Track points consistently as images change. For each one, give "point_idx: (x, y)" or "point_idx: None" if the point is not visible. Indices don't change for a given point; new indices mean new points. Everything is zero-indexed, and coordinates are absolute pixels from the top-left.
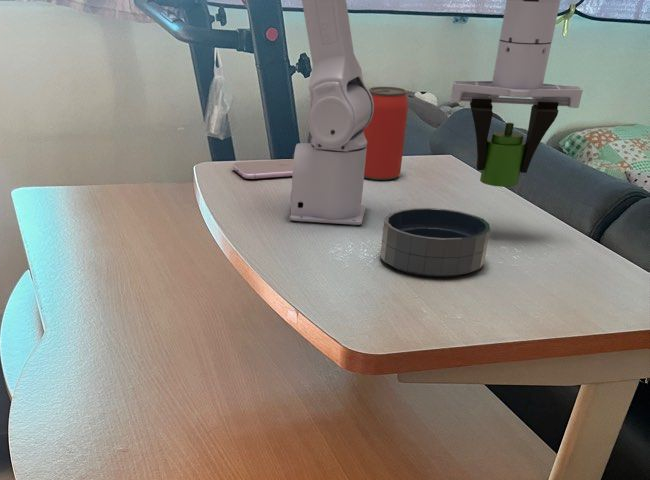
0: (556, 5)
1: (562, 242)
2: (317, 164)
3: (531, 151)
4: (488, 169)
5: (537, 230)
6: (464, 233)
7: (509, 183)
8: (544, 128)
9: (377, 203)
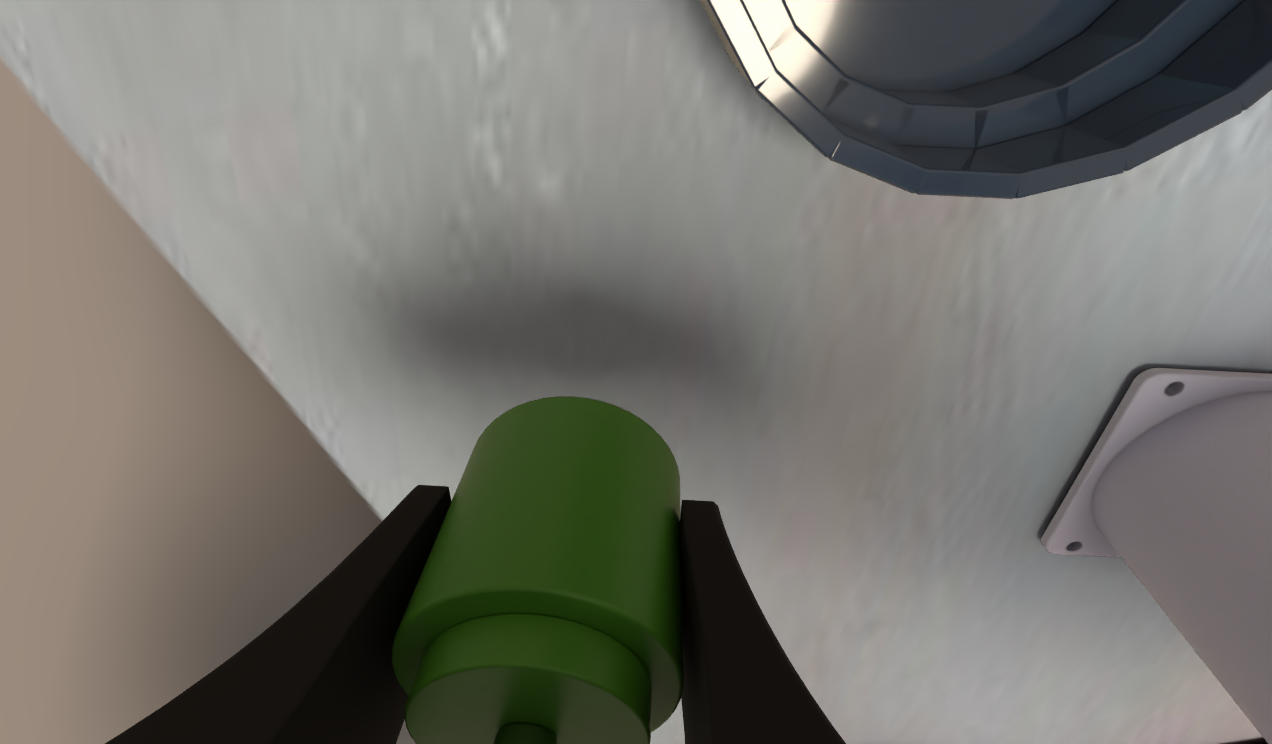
0: None
1: (308, 295)
2: None
3: (350, 574)
4: (653, 485)
5: (417, 415)
6: (783, 33)
7: (518, 412)
8: (161, 733)
9: (959, 598)
